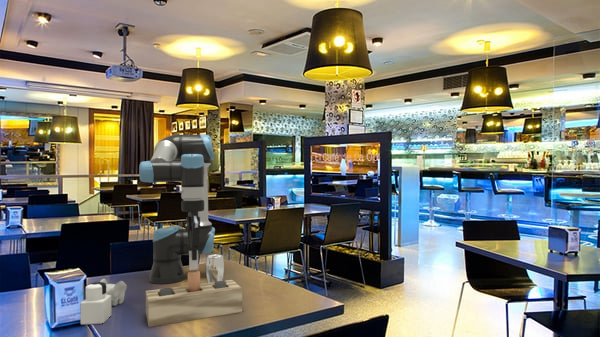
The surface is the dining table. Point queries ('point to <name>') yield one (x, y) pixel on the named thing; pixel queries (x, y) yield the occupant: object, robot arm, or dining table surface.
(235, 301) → the socket block
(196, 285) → the terracotta plug
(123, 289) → the elephant figurine
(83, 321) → the medicine bottle
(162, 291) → the black plug near
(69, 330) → the dining table surface
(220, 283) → the black plug far
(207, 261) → the beer glass
